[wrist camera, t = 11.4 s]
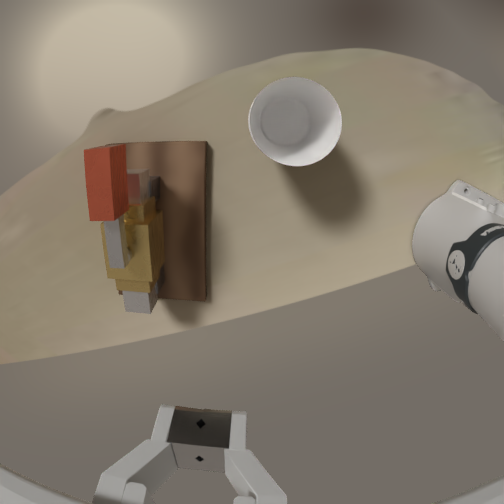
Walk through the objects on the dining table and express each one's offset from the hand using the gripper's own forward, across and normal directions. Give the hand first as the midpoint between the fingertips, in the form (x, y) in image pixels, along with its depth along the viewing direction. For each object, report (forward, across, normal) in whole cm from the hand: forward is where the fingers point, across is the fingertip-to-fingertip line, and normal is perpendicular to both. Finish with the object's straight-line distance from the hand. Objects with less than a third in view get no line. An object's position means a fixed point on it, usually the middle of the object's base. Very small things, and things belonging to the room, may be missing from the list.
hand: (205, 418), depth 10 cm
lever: (+25, +13, -1) cm, 28 cm away
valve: (+34, +13, +5) cm, 36 cm away
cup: (+35, -5, -10) cm, 37 cm away
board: (+35, +12, +5) cm, 37 cm away
